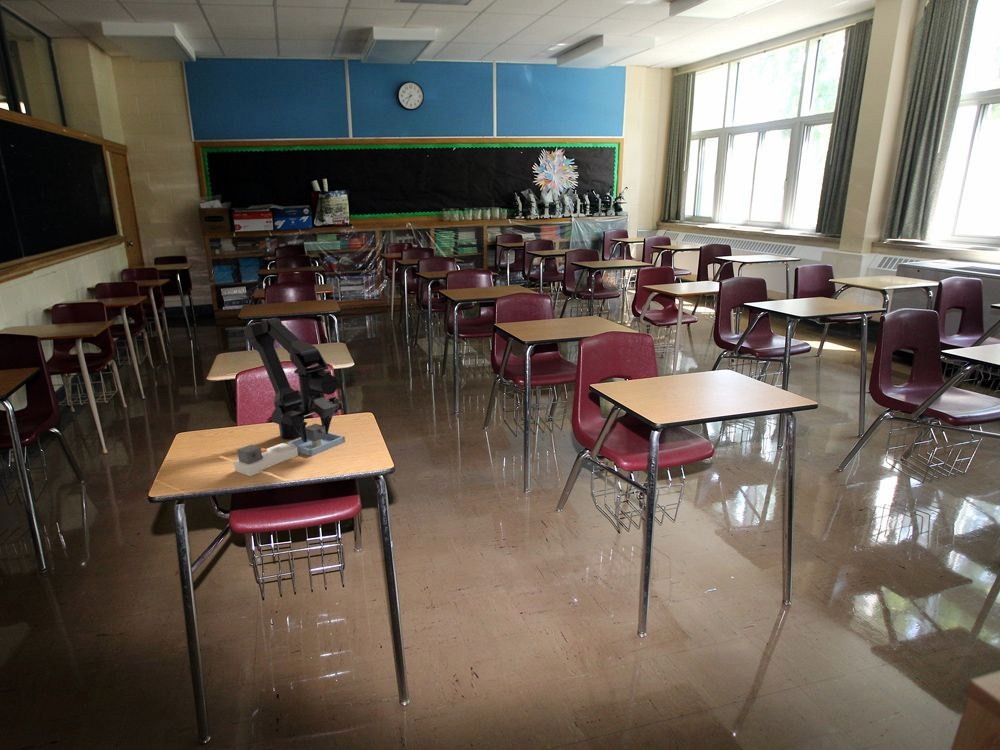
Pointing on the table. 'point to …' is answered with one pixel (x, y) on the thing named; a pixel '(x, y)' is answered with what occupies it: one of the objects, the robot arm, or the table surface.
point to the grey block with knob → (315, 434)
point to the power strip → (262, 457)
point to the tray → (326, 442)
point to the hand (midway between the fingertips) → (315, 437)
